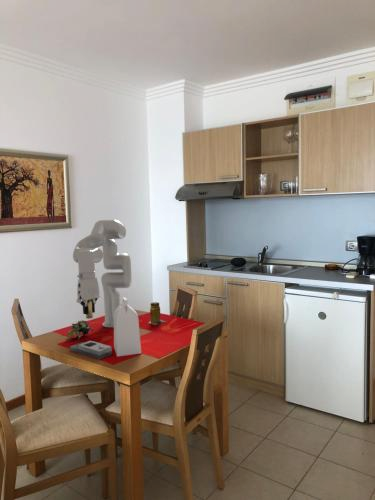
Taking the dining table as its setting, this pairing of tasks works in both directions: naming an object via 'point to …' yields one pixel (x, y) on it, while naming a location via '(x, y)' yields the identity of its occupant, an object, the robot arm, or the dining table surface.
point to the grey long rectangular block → (92, 349)
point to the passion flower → (80, 329)
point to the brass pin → (89, 309)
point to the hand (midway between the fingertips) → (89, 312)
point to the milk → (126, 330)
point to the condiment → (155, 314)
